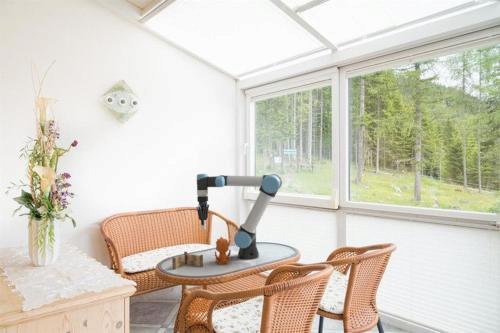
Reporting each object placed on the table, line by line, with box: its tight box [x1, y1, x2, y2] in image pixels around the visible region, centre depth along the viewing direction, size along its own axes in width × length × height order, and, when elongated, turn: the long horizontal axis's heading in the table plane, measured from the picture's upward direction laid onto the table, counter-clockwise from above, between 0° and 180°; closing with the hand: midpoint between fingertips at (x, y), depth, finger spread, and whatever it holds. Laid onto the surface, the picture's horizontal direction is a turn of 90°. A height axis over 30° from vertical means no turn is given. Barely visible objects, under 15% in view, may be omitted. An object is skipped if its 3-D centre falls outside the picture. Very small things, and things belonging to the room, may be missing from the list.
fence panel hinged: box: [187, 253, 204, 268], centre depth 228 cm, size 12×2×8 cm, turn 61°
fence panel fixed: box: [171, 251, 188, 270], centre depth 227 cm, size 13×2×8 cm, turn 151°
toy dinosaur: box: [214, 236, 232, 266], centre depth 233 cm, size 11×11×18 cm
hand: (203, 229), depth 241 cm, fingers closed
